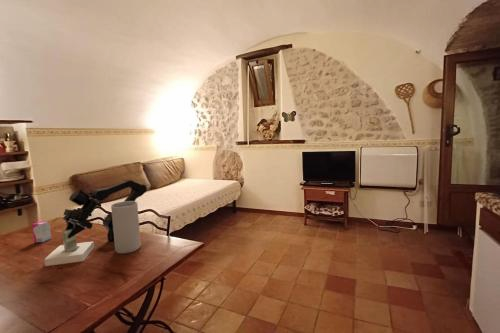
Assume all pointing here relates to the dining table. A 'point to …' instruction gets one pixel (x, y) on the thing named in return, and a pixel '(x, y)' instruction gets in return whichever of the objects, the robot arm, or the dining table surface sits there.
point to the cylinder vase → (126, 226)
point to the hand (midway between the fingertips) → (66, 237)
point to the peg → (69, 240)
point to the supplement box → (41, 231)
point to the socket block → (69, 254)
